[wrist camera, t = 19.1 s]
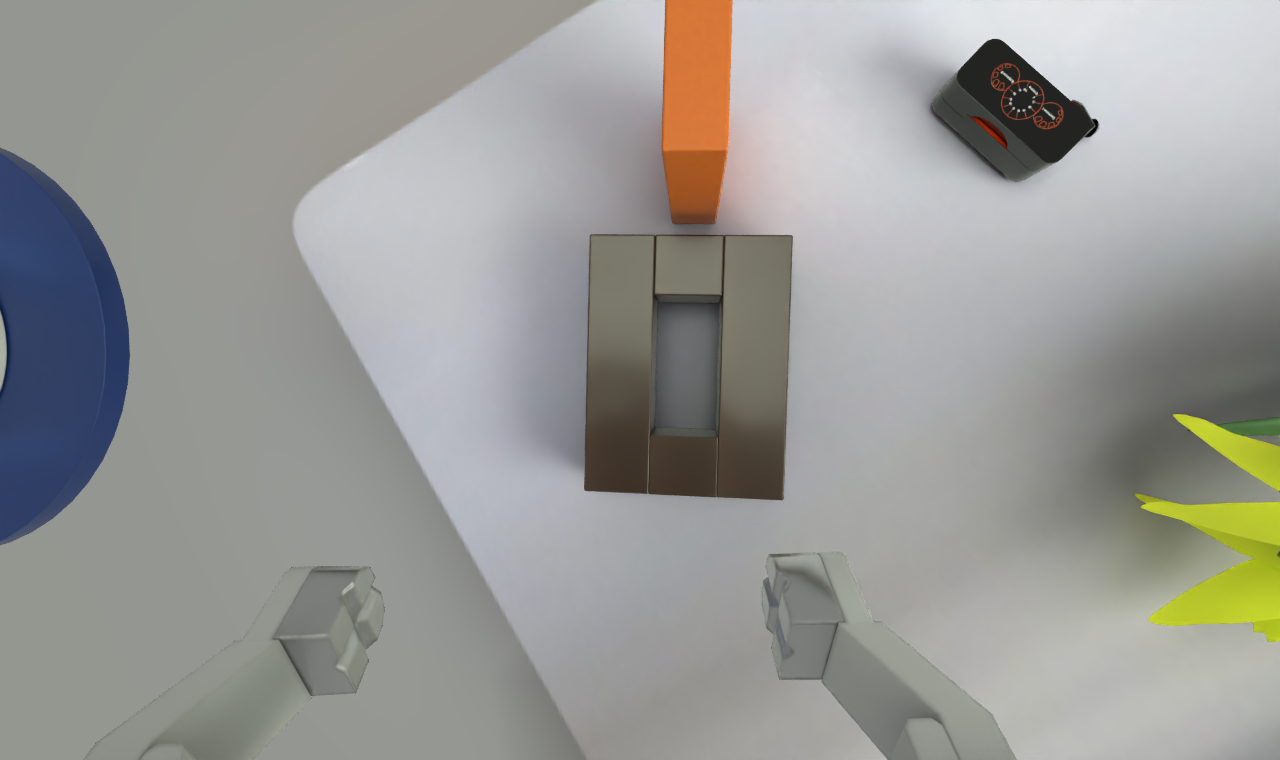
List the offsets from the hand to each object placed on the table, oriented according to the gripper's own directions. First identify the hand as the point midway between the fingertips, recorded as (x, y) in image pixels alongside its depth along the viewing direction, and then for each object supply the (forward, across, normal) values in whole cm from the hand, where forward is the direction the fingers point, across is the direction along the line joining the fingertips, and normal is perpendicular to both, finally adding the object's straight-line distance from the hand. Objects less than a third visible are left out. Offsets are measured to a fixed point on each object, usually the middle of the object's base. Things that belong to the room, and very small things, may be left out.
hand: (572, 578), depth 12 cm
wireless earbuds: (+24, -21, -5) cm, 32 cm away
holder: (+19, -4, +6) cm, 21 cm away
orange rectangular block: (+25, -5, -3) cm, 26 cm away
